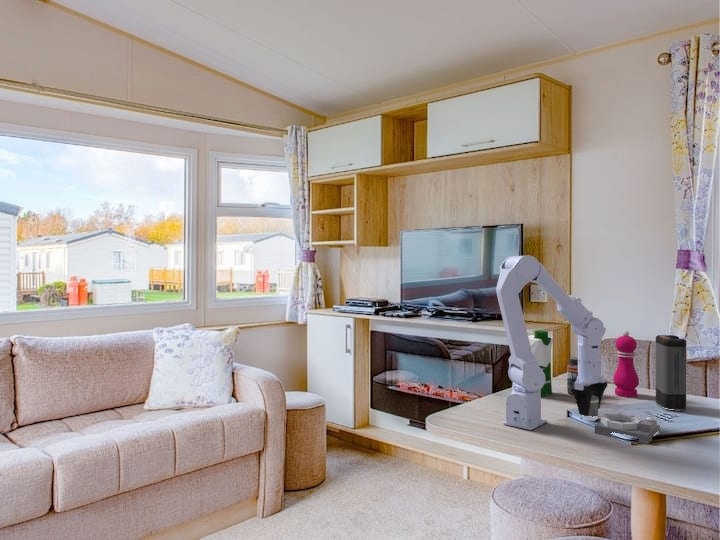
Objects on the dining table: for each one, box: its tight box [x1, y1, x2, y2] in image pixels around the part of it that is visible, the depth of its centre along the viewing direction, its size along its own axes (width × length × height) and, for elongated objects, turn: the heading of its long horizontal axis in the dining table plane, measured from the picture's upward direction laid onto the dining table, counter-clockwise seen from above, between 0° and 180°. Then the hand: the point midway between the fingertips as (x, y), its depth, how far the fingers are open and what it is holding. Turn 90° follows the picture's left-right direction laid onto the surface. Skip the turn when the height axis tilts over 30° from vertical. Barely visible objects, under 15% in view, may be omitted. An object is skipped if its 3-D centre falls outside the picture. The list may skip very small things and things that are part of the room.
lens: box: [584, 395, 599, 417], centre depth 148 cm, size 5×5×6 cm
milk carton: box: [528, 330, 554, 398], centre depth 175 cm, size 9×9×20 cm
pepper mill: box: [612, 330, 640, 398], centre depth 172 cm, size 7×7×20 cm
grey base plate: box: [594, 412, 661, 445], centre depth 136 cm, size 10×12×4 cm
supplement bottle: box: [566, 356, 578, 396], centre depth 174 cm, size 6×6×11 cm
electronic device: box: [655, 334, 687, 412], centre depth 158 cm, size 9×6×20 cm, turn 168°
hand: (589, 411), depth 148 cm, fingers open, 7 cm apart
